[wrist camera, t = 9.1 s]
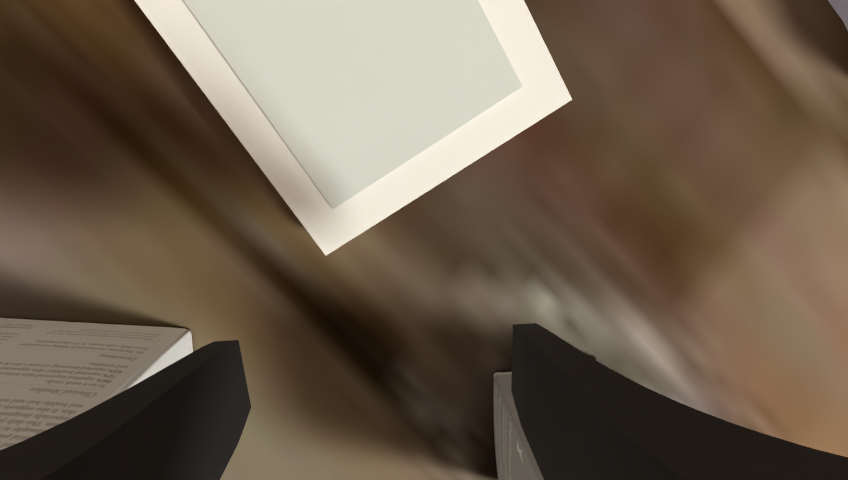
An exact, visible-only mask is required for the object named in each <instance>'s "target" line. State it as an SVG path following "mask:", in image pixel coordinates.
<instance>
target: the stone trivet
mask: <svg viewBox="0 0 848 480" xmlns="http://www.w3.org/2000/svg"><path fill="white" fill-rule="evenodd" d="M135 2H136V3H137V4H138V6H139V7H140V8H141V10H142V11H143V12H144V14H145V15H146V16H147V18H148V19H149V20H150V22H151V23H152V24H153V26H154V27H155V28H156V30H157V31H158V32H159V34H160V35H161V36H162V38H163V39H164V40H165V42H166V43H167V44H168V46H169V47H170V48H171V50H172V51H173V52H174V54H175V55H176V56H177V58H178V59H179V60H180V62H181V63H182V64H183V66H184V67H185V68H186V70H187V71H188V72H189V74H190V75H191V76H192V78H193V79H194V80H195V82H196V83H197V84H198V86H199V87H200V88H201V90H202V91H203V92H204V94H205V95H206V96H207V98H208V99H209V100H210V102H211V103H212V104H213V106H214V107H215V108H216V110H217V111H218V112H219V114H220V115H221V116H222V118H223V119H224V120H225V122H226V123H227V124H228V126H229V127H230V128H231V130H232V131H233V132H234V134H235V135H236V136H237V138H238V139H239V140H240V142H241V143H242V144H243V146H244V147H245V148H246V150H247V151H248V152H249V154H250V155H251V156H252V158H253V159H254V160H255V162H256V163H257V164H258V166H259V167H260V168H261V170H262V171H263V172H264V174H265V175H266V176H267V178H268V179H269V180H270V182H271V183H272V184H273V186H274V187H275V188H276V190H277V191H278V192H279V194H280V195H281V196H282V198H283V199H284V200H285V202H286V203H287V204H288V206H289V207H290V208H291V210H292V211H293V212H294V214H295V215H296V216H297V218H298V219H299V220H300V222H301V223H302V224H303V226H304V227H305V228H306V230H307V231H308V232H309V234H310V235H311V236H312V238H313V239H314V240H315V242H316V243H317V245H318V246H319V247H320V249H321V250H322V251H323V253H324V254H325V255H328V254H329V253H331V252H332V251H334V250H336V249H337V248H339V247H340V246H342V245H343V244H345V243H347V242H348V241H350V240H351V239H353V238H355V237H356V236H358V235H359V234H361V233H362V232H364V231H366V230H367V229H369V228H370V227H372V226H373V225H375V224H377V223H378V222H380V221H381V220H383V219H385V218H386V217H388V216H389V215H391V214H392V213H394V212H396V211H397V210H399V209H400V208H402V207H403V206H405V205H407V204H408V203H410V202H411V201H413V200H414V199H416V198H418V197H419V196H421V195H422V194H424V193H426V192H427V191H429V190H430V189H432V188H433V187H435V186H437V185H438V184H440V183H441V182H443V181H444V180H446V179H448V178H449V177H451V176H452V175H454V174H456V173H457V172H459V171H460V170H462V169H463V168H465V167H467V166H468V165H470V164H471V163H473V162H474V161H476V160H478V159H479V158H481V157H482V156H484V155H486V154H487V153H489V152H490V151H492V150H493V149H495V148H497V147H498V146H500V145H501V144H503V143H504V142H506V141H508V140H509V139H511V138H512V137H514V136H515V135H517V134H519V133H520V132H522V131H523V130H525V129H527V128H528V127H530V126H531V125H533V124H534V123H536V122H538V121H539V120H541V119H542V118H544V117H545V116H547V115H549V114H550V113H552V112H553V111H555V110H557V109H558V108H560V107H561V106H563V105H564V104H566V103H568V102H569V101H571V100H572V98H571V96H570V94H569V92H568V90H567V88H566V86H565V84H564V82H563V80H562V78H561V76H560V74H559V72H558V69H557V67H556V65H555V63H554V61H553V59H552V57H551V55H550V53H549V51H548V49H547V47H546V45H545V43H544V41H543V39H542V37H541V35H540V33H539V31H538V28H537V26H536V24H535V22H534V20H533V18H532V16H531V14H530V12H529V10H528V8H527V6H526V4H525V2H524V0H135Z"/></svg>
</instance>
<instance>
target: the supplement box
mask: <svg viewBox="0 0 848 480" xmlns="http://www.w3.org/2000/svg"><path fill="white" fill-rule="evenodd" d="M192 352H193V346H192V335H191V332H190V331H189V330H187V329H183V328H172V327H154V326H136V325H117V324H99V323H82V322H64V321H47V320H28V319H11V318H0V450H2V449H5V448H7V447H10V446H12V445H14V444H17V443H19V442H21V441H24V440H26V439H28V438H30V437H32V436H35V435H37V434H39V433H41V432H43V431H46V430H48V429H50V428H52V427H54V426H56V425H59V424H61V423H63V422H65V421H67V420H69V419H71V418H73V417H75V416H77V415H79V414H81V413H83V412H85V411H87V410H89V409H91V408H93V407H95V406H97V405H98V404H100V403H102V402H104V401H106V400H108V399H110V398H111V397H113V396H115V395H117V394H119V393H121V392H123V391H125V390H126V389H128V388H130V387H132V386H134V385H136V384H137V383H139V382H141V381H143V380H145V379H146V378H148V377H150V376H152V375H153V374H155V373H157V372H159V371H160V370H162V369H164V368H166V367H167V366H169V365H171V364H173V363H174V362H176V361H178V360H180V359H181V358H183V357H185V356H187V355H189V354H190V353H192Z"/></svg>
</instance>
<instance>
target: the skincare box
mask: <svg viewBox="0 0 848 480" xmlns="http://www.w3.org/2000/svg"><path fill="white" fill-rule="evenodd" d="M599 363H601V364H603V365H605V366H606V364H605V363H604V362H602V361H600V362H599ZM606 367H607V366H606ZM493 377H494V438H495V453H496V464H497V474H498V480H544V479H543V476H542V474H541V472H540V469H539V467H538V465H537V462H536V460H535V458H534V455H533V453H532V451H531V448H530V446H529V444H528V441H527V439H526V436H525V434H524V432H523V429H522V427H521V424H520V420H519V417H518V414H517V410H516V407H515V403H514V399H513V395H512V392H511V380H512V372H497V373H495V374H494V375H493Z"/></svg>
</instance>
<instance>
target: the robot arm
mask: <svg viewBox="0 0 848 480" xmlns="http://www.w3.org/2000/svg"><path fill="white" fill-rule="evenodd" d="M828 1H829V3H830V4H831V6H832V7H833V9H834V10H835V11H836V12H837V14H838V15H839V16H840V18H841V19H842V21H843V22H844V24H845V26H846V28H847V30H848V0H828ZM511 392H512V395H513V399H514V403H515V407H516V410H517V414H518V417H519V420H520V424H521V427H522V429H523V432H524V434H525V436H526V439H527V441H528V444H529V446H530V448H531V451H532V453H533V455H534V458H535V460H536V462H537V465H538V467H539V469H540V472H541V474H542V476H543V479H544V480H848V458H847V457H844V456H840V455H836V454H832V453H828V452H824V451H820V450H816V449H812V448H809V447H805V446H802V445H798V444H795V443H792V442H789V441H785V440H782V439H779V438H775V437H772V436H769V435H766V434H762V433H759V432H756V431H753V430H750V429H747V428H744V427H741V426H739V425H736V424H733V423H730V422H727V421H725V420H722V419H719V418H717V417H714V416H711V415H709V414H706V413H703V412H701V411H698V410H696V409H693V408H691V407H688V406H686V405H683V404H681V403H679V402H676V401H674V400H672V399H670V398H667V397H665V396H663V395H661V394H659V393H657V392H654V391H652V390H650V389H648V388H646V387H644V386H642V385H640V384H638V383H636V382H634V381H632V380H630V379H628V378H626V377H624V376H623V375H621V374H619V373H617V372H615V371H613V370H612V369H610V368H608V367H606V366H605V365H603V364H601V363H599V362H598V361H596V360H594V359H593V358H591V357H589V356H588V355H586V354H584V353H583V352H581V351H580V350H578V349H576V348H575V347H573V346H572V345H570V344H569V343H567V342H565V341H564V340H562V339H561V338H559V337H558V336H556V335H555V334H553V333H551V332H550V331H548V330H547V329H545V328H543V327H542V326H540V325H538V324H536V323H534V324H516V325H513V342H512V380H511ZM250 408H251V404H250V399H249V394H248V388H247V383H246V378H245V373H244V367H243V362H242V357H241V352H240V346H239V341H238V340H234V341H216V342H213V343H210V344H208V345H206V346H204V347H202V348H200V349H198V350H196V351H194V352H192V353H190V354H189V355H187V356H185V357H183V358H181V359H180V360H178V361H176V362H174V363H173V364H171V365H169V366H167V367H166V368H164V369H162V370H160V371H159V372H157V373H155V374H153V375H152V376H150V377H148V378H146V379H145V380H143V381H141V382H139V383H137V384H136V385H134V386H132V387H130V388H128V389H126V390H125V391H123V392H121V393H119V394H117V395H115V396H113V397H111V398H110V399H108V400H106V401H104V402H102V403H100V404H98V405H97V406H95V407H93V408H91V409H89V410H87V411H85V412H83V413H81V414H79V415H77V416H75V417H73V418H71V419H69V420H67V421H65V422H63V423H61V424H59V425H56V426H54V427H52V428H50V429H48V430H46V431H43V432H41V433H39V434H37V435H35V436H32V437H30V438H28V439H26V440H24V441H21V442H19V443H17V444H14V445H12V446H10V447H7V448H5V449H2V450H0V480H220V478H221V476H222V474H223V472H224V470H225V468H226V466H227V464H228V462H229V460H230V458H231V456H232V454H233V452H234V450H235V448H236V446H237V444H238V442H239V439H240V437H241V434H242V431H243V429H244V426H245V423H246V420H247V417H248V414H249V411H250Z"/></svg>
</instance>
